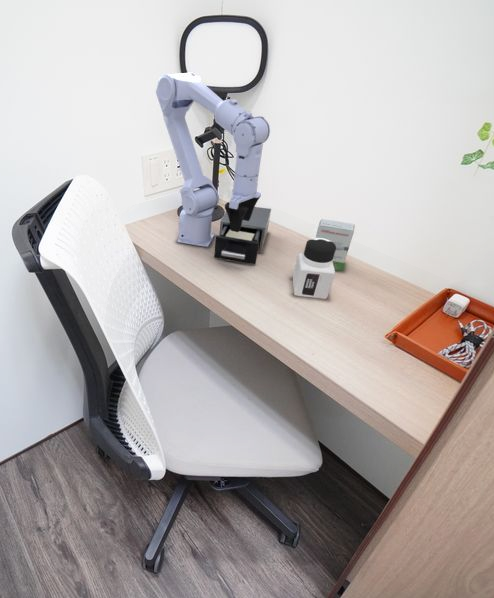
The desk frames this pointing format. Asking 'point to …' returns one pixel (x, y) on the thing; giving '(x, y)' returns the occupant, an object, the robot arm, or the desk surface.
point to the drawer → (237, 246)
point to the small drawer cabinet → (253, 223)
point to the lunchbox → (240, 235)
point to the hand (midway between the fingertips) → (240, 225)
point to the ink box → (337, 239)
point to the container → (315, 269)
